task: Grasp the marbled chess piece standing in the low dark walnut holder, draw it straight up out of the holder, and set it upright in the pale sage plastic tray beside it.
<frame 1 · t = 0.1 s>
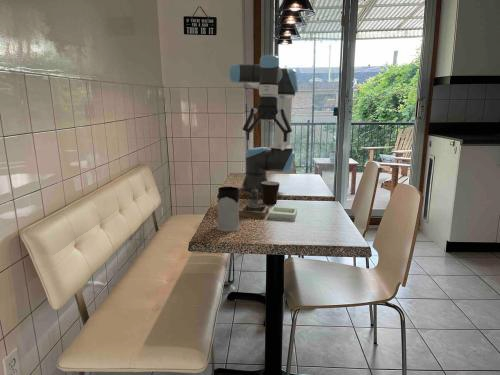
hand: (266, 149, 156), 28 cm above the table, tool pointing down, fingers open, 13 cm apart
marbled chess piece: (254, 214, 161), resting in walnut holder
walnut holder: (254, 214, 161), on the table
coffee mug: (271, 203, 181), on the table
sage tray: (283, 216, 159), on the table
white and black cylinder: (229, 226, 145), on the table
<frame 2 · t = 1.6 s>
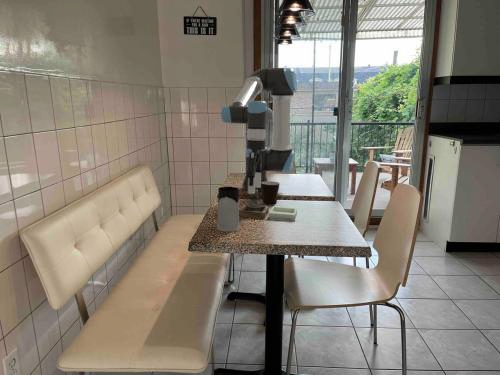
hand: (254, 190, 159), 10 cm above the table, tool pointing down, fingers open, 13 cm apart
nothing on the table moved.
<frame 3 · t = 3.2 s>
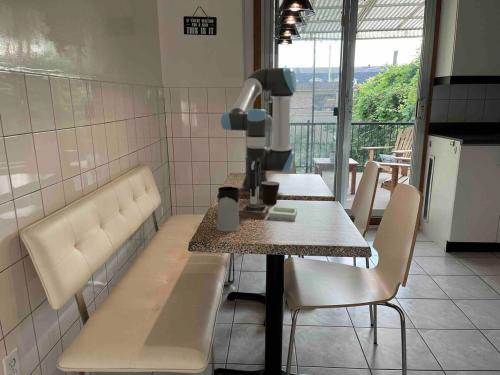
hand: (254, 202, 160), 5 cm above the table, tool pointing down, fingers closed on marbled chess piece, 4 cm apart
marbled chess piece: (253, 214, 161), resting in walnut holder, touching gripper
everything else where it was.
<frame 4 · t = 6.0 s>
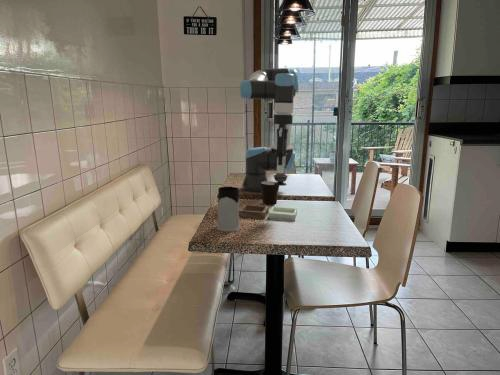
hand: (280, 172, 155), 19 cm above the table, tool pointing down, fingers closed on marbled chess piece, 4 cm apart
marbled chess piece: (280, 184, 156), point 13 cm above the table, touching gripper
everything else where it was.
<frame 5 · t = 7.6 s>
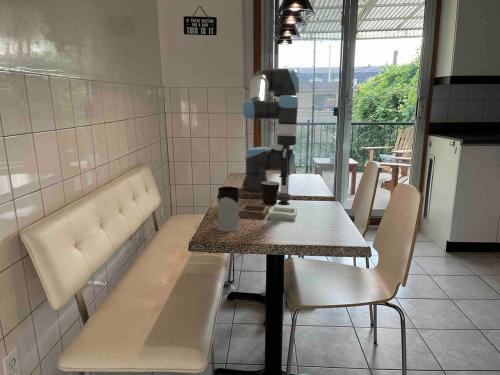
hand: (284, 191, 156), 11 cm above the table, tool pointing down, fingers closed on marbled chess piece, 4 cm apart
marbled chess piece: (283, 204, 157), point 5 cm above the table, touching gripper
everything else where it was.
when the fingers open (8 cm above the table, at t = 8.8 s): marbled chess piece drops 1 cm, resting on sage tray.
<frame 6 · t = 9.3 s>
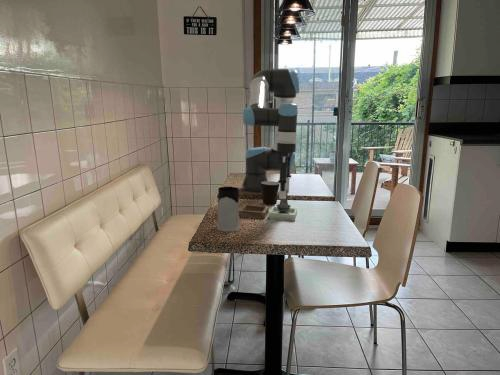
hand: (284, 195, 157), 9 cm above the table, tool pointing down, fingers open, 11 cm apart
marbled chess piece: (283, 214, 159), point 1 cm above the table, touching sage tray
everything else where it was.
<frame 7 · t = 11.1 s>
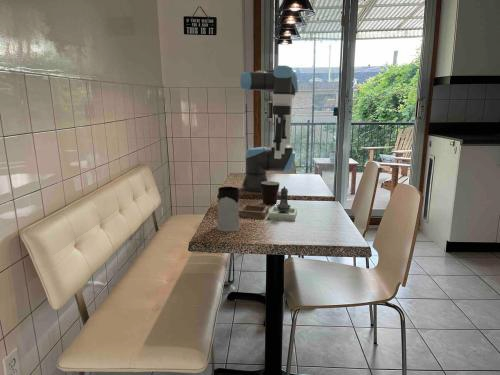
hand: (279, 156, 161), 25 cm above the table, tool pointing down, fingers open, 13 cm apart
nothing on the table moved.
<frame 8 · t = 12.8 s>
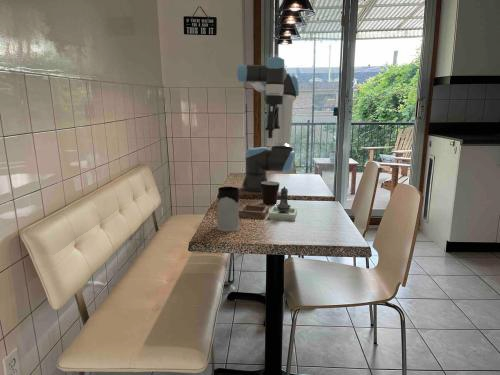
hand: (272, 144, 167), 29 cm above the table, tool pointing down, fingers open, 13 cm apart
nothing on the table moved.
at the end: marbled chess piece 0.1 cm off-centre on the sage tray, point 0.8 cm above the sage tray's base; marbled chess piece tilted 0°; the gripper is holding nothing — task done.
